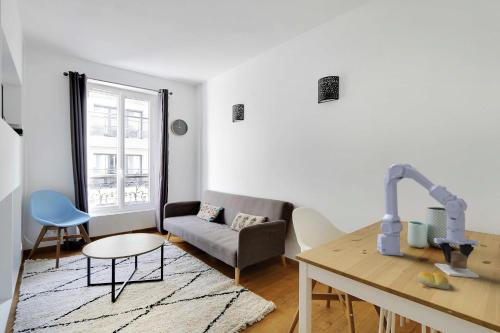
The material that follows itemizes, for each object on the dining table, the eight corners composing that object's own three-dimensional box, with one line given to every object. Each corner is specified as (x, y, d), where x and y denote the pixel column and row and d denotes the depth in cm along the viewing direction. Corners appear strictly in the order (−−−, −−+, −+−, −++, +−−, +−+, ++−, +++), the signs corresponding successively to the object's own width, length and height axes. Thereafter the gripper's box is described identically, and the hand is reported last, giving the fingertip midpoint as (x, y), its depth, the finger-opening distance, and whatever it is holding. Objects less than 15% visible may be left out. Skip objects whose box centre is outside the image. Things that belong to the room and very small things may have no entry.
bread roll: (417, 276, 94) (417, 266, 94) (447, 282, 89) (447, 271, 89) (418, 285, 87) (418, 274, 87) (450, 292, 82) (450, 280, 82)
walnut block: (452, 268, 97) (452, 255, 96) (444, 263, 101) (444, 251, 101) (466, 269, 96) (466, 256, 96) (458, 264, 100) (458, 252, 100)
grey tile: (449, 275, 95) (449, 273, 95) (434, 265, 104) (434, 263, 104) (478, 277, 93) (478, 275, 93) (461, 267, 102) (461, 265, 102)
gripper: (441, 230, 96) (441, 264, 96) (483, 232, 93) (483, 267, 93) (431, 225, 103) (431, 257, 103) (471, 227, 100) (470, 260, 100)
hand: (455, 262), depth 98 cm, fingers closed on walnut block, 5 cm apart
